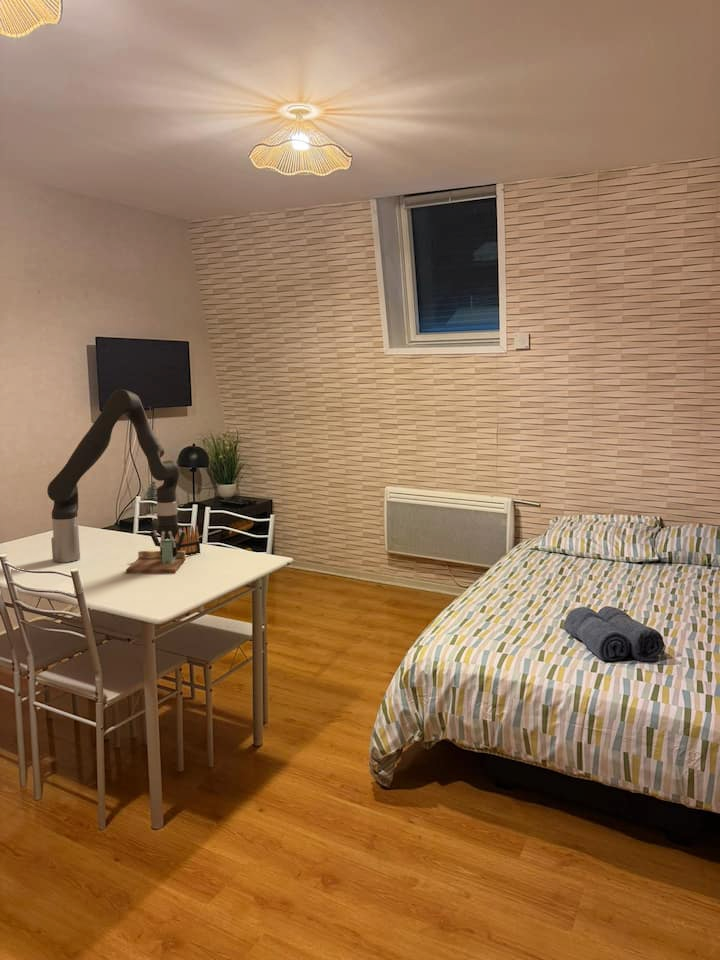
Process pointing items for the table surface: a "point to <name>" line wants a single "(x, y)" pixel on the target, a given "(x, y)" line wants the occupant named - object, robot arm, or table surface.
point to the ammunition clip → (189, 541)
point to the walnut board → (155, 563)
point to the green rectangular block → (167, 551)
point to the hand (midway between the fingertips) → (169, 556)
